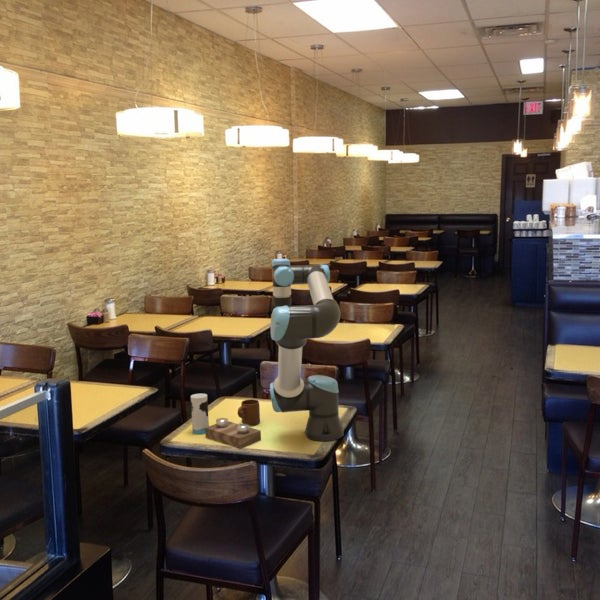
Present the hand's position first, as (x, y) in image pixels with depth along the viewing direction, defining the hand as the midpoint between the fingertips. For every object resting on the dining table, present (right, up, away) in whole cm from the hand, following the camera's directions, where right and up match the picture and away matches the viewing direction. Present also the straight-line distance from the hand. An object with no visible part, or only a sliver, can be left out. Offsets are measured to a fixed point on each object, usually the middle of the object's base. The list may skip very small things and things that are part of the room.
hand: (283, 351), depth 280 cm
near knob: (-15, -32, -21) cm, 42 cm away
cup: (-34, -32, -8) cm, 47 cm away
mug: (-15, -31, -1) cm, 34 cm away
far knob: (-24, -31, -13) cm, 42 cm away
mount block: (-20, -33, -17) cm, 42 cm away
